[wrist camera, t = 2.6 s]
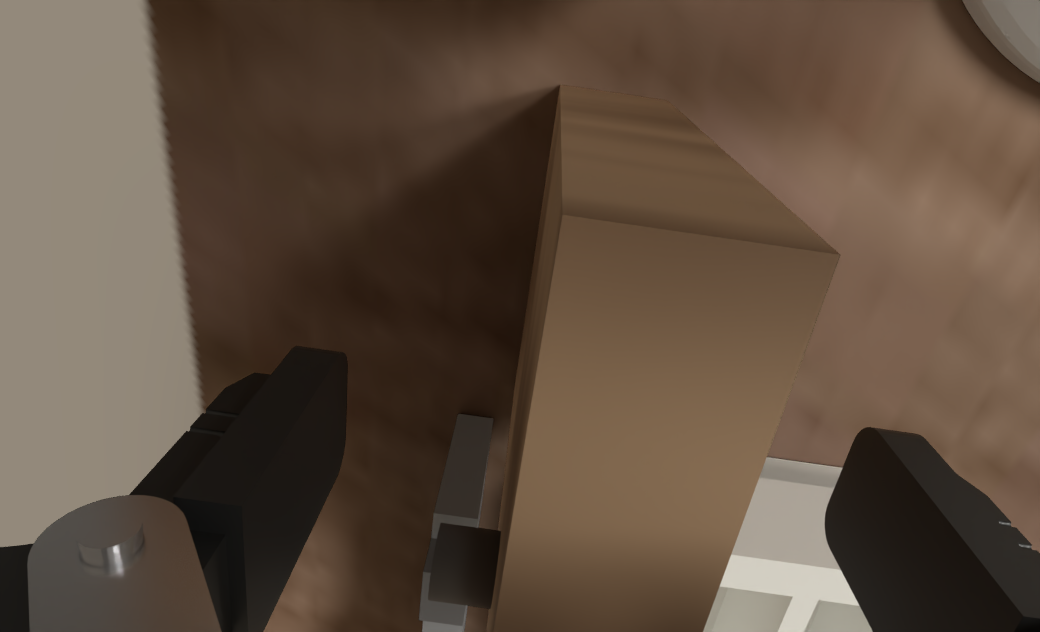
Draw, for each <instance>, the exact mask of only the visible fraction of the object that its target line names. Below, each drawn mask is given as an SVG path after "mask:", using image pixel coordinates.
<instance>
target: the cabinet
mask: <svg viewBox="0 0 1040 632" xmlns="http://www.w3.org/2000/svg"><path fill="white" fill-rule="evenodd" d="M492 426H493V418H486V417H479V416H472V415H465V414H458V416H457V420H456V424H455V428H454V432H453V437H452V441H451V445H450V449H449V453H448V457H447V461H446V465H445V469H444V473H443V477H442V481H441V486H440V490H439V494H438V498H437V502H436V506H435V510H434V516H433V526H432V536H431V541H430V546H429V550H428V554H427V558H426V562H425V567H424V571H423V580H422V590H421V601H420V612H419V620H421V621H423V627H422V632H464V629H465V622H466V615H467V607H468V606H466V605H458V604H451V603H444V602H437V601H430V600H428V591H429V582H430V575H431V568H432V562H433V556H434V550H435V545H436V540H437V535H438V531H439V527H440V524H441V523H447V524H454V525H462V526H469V527H476V528H479V520H480V513H481V506H482V499H483V491H484V484H485V477H486V470H487V463H488V455H489V448H490V441H491V434H492ZM841 471H842V468H841V467H833V466H826V465H819V464H812V463H805V462H798V461H791V460H784V459H777V458H770V457H767V458H766V460H765V463H764V466H763V469H762V471H761V474H760V477H759V480H758V482H757V485H756V488H755V491H754V493H753V496H752V499H751V502H750V504H749V507H748V510H747V513H746V515H745V518H744V521H743V524H742V526H741V529H740V532H739V535H738V537H737V540H736V543H735V545H734V548H733V551H732V554H731V556H730V559H729V562H728V565H727V567H726V570H725V573H724V576H723V578H722V581H721V584H720V587H719V589H718V592H717V595H716V598H715V600H714V603H713V606H712V609H711V611H710V614H709V617H708V619H707V622H706V625H705V628H704V630H703V632H873V631H872V629H871V627H870V625H869V623H868V621H867V619H866V617H865V615H864V613H863V612H862V610H861V608H860V606H859V604H858V602H857V600H856V598H855V596H854V594H853V592H852V590H851V589H850V587H849V585H848V583H847V581H846V579H845V577H844V575H843V573H842V571H841V569H840V567H839V565H838V564H837V562H836V560H835V558H834V556H833V554H832V552H831V550H830V548H829V546H828V543H827V540H826V535H825V513H826V508H827V505H828V502H829V500H830V497H831V495H832V493H833V490H834V488H835V485H836V483H837V480H838V478H839V476H840V473H841Z"/></svg>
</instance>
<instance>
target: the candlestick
mask: <svg viewBox="0 0 1040 632" xmlns="http://www.w3.org/2000/svg"><path fill="white" fill-rule="evenodd" d="M962 1H963V3H964V5H965V7H966V9H967V10H968V12H969V14H970V15H971V17H972V18H973V20H974V21H975V23H976V24H977V25H978V27H979V28H980V30H981V31H982V32H983V34H984V35H985V36H986V37H987V38H988V39H989V41H990V42H991V43H992V44H993V45H994V46H995V47H996V48H997V49H998V50H999V51H1000V53H1001V54H1002V55H1004V56H1005V57H1006V58H1007V59H1008V60H1009V61H1010V62H1011V63H1012V64H1014V65H1015V66H1016V67H1017V68H1019V69H1020V70H1021V71H1022V72H1024V73H1025V74H1027V75H1028V76H1030V77H1031V78H1032V79H1034V80H1036V81H1037V82H1039V83H1040V0H962Z"/></svg>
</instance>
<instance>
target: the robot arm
mask: <svg viewBox="0 0 1040 632" xmlns="http://www.w3.org/2000/svg"><path fill="white" fill-rule="evenodd" d="M347 374H348V364H347V357H346V354H345V353H343V352H336V351H329V350H322V349H315V348H307V347H300V346H295V347H294V348H293V349H292V350H291V351H290V352H289V353H288V354H287V356H286V357H285V358H284V359H283V361H282V362H281V363H280V364H279V366H278V367H277V368H276V369H275V371H274V372H273V373H272V374H271V375H268V374H261V373H253V374H251V375H249V376H247V377H245V378H243V379H242V380H240V381H238V382H236V383H234V384H232V385H230V386H228V387H226V388H225V389H224V390H223V391H222V392H221V393H220V394H219V395H218V397H217V398H216V399H215V400H214V401H213V402H212V403H211V404H210V405H209V407H208V408H207V409H206V413H205V414H204V413H202V414H201V415H200V417H199V418H198V419H197V420H196V421H195V422H194V423H193V425H192V426H191V427H190V431H189V432H188V431H186V432H185V433H184V434H183V436H182V437H181V438H180V439H179V440H178V441H177V442H176V444H174V446H173V447H172V448H171V449H170V450H169V451H168V452H167V453H166V454H165V456H164V457H163V458H162V459H161V460H160V461H159V462H158V463H157V465H156V466H155V467H154V468H153V469H152V470H151V471H150V472H149V473H148V474H147V476H146V477H145V478H144V479H143V480H142V481H141V482H140V484H138V486H137V487H136V488H135V489H134V490H133V491H132V492H131V493H130V495H126V496H117V497H113V498H108V499H103V500H100V501H96V502H93V503H90V504H87V505H85V506H82V507H80V508H78V509H76V510H74V511H72V512H70V513H68V514H66V515H65V516H63V517H61V518H60V519H58V520H57V521H55V522H54V523H53V524H51V525H50V526H49V527H48V528H47V529H46V530H45V531H44V532H43V533H42V534H41V535H40V536H39V537H38V538H37V540H36V541H35V543H34V544H28V545H20V546H10V547H0V632H263V631H264V629H265V627H266V625H267V623H268V621H269V618H270V616H271V614H272V612H273V610H274V608H275V606H276V604H277V602H278V600H279V597H280V595H281V593H282V591H283V589H284V587H285V585H286V583H287V581H288V579H289V577H290V574H291V572H292V570H293V568H294V566H295V564H296V562H297V560H298V558H299V556H300V554H301V551H302V549H303V547H304V545H305V543H306V541H307V539H308V537H309V535H310V533H311V531H312V528H313V526H314V524H315V522H316V520H317V518H318V516H319V514H320V512H321V510H322V507H323V505H324V503H325V501H326V499H327V497H328V495H329V493H330V491H331V489H332V487H333V484H334V482H335V480H336V478H337V476H338V473H339V470H340V467H341V463H342V459H343V454H344V448H345V440H346V410H347ZM825 535H826V540H827V543H828V546H829V548H830V550H831V552H832V554H833V556H834V558H835V560H836V562H837V564H838V565H839V567H840V569H841V571H842V573H843V575H844V577H845V579H846V581H847V583H848V585H849V587H850V589H851V590H852V592H853V594H854V596H855V598H856V600H857V602H858V604H859V606H860V608H861V610H862V612H863V613H864V615H865V617H866V619H867V621H868V623H869V625H870V627H871V629H872V631H873V632H1040V553H1039V552H1038V551H1036V550H1032V549H1031V543H1030V542H1029V541H1028V540H1027V539H1026V538H1025V537H1024V536H1023V535H1022V534H1021V533H1020V531H1019V530H1018V529H1017V528H1015V527H1011V522H1010V520H1009V519H1008V518H1007V517H1006V516H1005V515H1004V514H1003V513H1002V512H1001V511H1000V509H999V508H998V507H997V506H996V505H995V504H994V503H993V502H992V501H991V500H990V498H989V497H988V496H987V495H985V494H984V493H983V492H981V491H980V490H978V489H977V488H976V487H974V486H973V485H971V484H970V483H969V482H967V481H966V480H964V479H963V478H962V477H960V476H959V475H957V474H956V473H955V472H954V471H953V470H952V469H951V467H950V466H949V465H948V464H947V463H946V462H945V461H944V459H943V458H942V457H941V456H940V455H939V454H938V453H937V452H936V450H935V449H934V448H933V447H932V446H931V445H930V444H929V443H928V441H927V440H926V439H925V438H924V437H922V436H921V435H919V434H914V433H907V432H900V431H893V430H886V429H878V428H871V427H867V428H864V429H862V430H861V431H860V432H859V433H858V434H857V436H856V437H855V439H854V441H853V444H852V446H851V449H850V451H849V454H848V456H847V458H846V461H845V463H844V466H843V468H842V471H841V473H840V476H839V478H838V480H837V483H836V485H835V488H834V490H833V493H832V495H831V497H830V500H829V502H828V505H827V508H826V513H825Z"/></svg>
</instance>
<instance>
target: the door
mask: <svg viewBox="0 0 1040 632" xmlns="http://www.w3.org/2000/svg"><path fill="white" fill-rule="evenodd" d="M839 258H840V254H839V253H838V252H837V251H836V250H834V249H833V248H832V247H831V246H830V245H829V244H828V243H827V242H825V241H824V240H823V239H822V238H821V237H820V236H819V235H818V234H817V233H815V232H814V231H813V230H812V229H811V228H810V227H809V226H808V225H806V224H805V223H804V222H803V221H802V220H801V219H800V218H799V217H797V216H796V215H795V214H794V213H793V212H792V211H791V210H790V209H788V208H787V207H786V206H785V205H784V204H783V203H782V202H781V201H780V200H778V199H777V198H776V197H775V196H774V195H773V194H772V193H771V192H769V191H768V190H767V189H766V188H765V187H764V186H763V185H762V184H760V183H759V182H758V181H757V180H756V179H755V178H754V177H753V176H751V175H750V174H749V173H748V172H747V171H746V170H745V169H744V168H743V167H741V166H740V165H739V164H738V163H737V162H736V161H735V160H734V159H732V158H731V157H730V156H729V155H728V154H727V153H726V152H725V151H723V150H722V149H721V148H720V147H719V146H718V145H717V144H716V143H714V142H713V141H712V140H711V139H710V138H709V137H708V136H707V135H706V134H704V133H703V132H702V131H701V130H700V129H699V128H698V127H697V126H695V125H694V124H693V123H692V122H691V121H690V120H689V119H688V118H686V117H685V116H684V115H683V114H682V113H681V112H680V111H679V110H677V109H676V108H675V107H674V106H673V105H672V104H671V103H670V102H669V101H667V100H662V99H655V98H648V97H642V96H635V95H628V94H621V93H614V92H607V91H601V90H594V89H587V88H580V87H573V86H566V85H560V89H559V96H558V102H557V109H556V116H555V122H554V129H553V136H552V142H551V149H550V155H549V162H548V169H547V175H546V182H545V189H544V195H543V202H542V209H541V215H540V222H539V228H538V235H537V242H536V248H535V255H534V262H533V268H532V275H531V281H530V288H529V295H528V301H527V308H526V315H525V321H524V328H523V334H522V341H521V348H520V354H519V361H518V368H517V374H516V381H515V387H514V395H513V404H512V413H511V422H510V430H509V439H508V448H507V456H506V465H505V474H504V482H503V491H502V500H501V508H500V517H499V526H498V531H497V530H490V529H483V528H476V527H469V526H462V525H454V524H447V523H441V524H440V527H439V531H438V535H437V540H436V545H435V550H434V556H433V562H432V568H431V575H430V582H429V591H428V600H430V601H437V602H444V603H451V604H458V605H466V606H473V607H480V608H487V609H489V612H488V621H487V630H486V632H703V630H704V628H705V625H706V622H707V619H708V617H709V614H710V611H711V609H712V606H713V603H714V600H715V598H716V595H717V592H718V589H719V587H720V584H721V581H722V578H723V576H724V573H725V570H726V567H727V565H728V562H729V559H730V556H731V554H732V551H733V548H734V545H735V543H736V540H737V537H738V535H739V532H740V529H741V526H742V524H743V521H744V518H745V515H746V513H747V510H748V507H749V504H750V502H751V499H752V496H753V493H754V491H755V488H756V485H757V482H758V480H759V477H760V474H761V471H762V469H763V466H764V463H765V460H766V458H767V455H768V452H769V450H770V447H771V444H772V441H773V439H774V436H775V433H776V430H777V428H778V425H779V422H780V419H781V417H782V414H783V411H784V408H785V406H786V403H787V400H788V397H789V395H790V392H791V389H792V386H793V384H794V381H795V378H796V375H797V373H798V370H799V367H800V365H801V362H802V359H803V356H804V354H805V351H806V348H807V345H808V343H809V340H810V337H811V334H812V332H813V329H814V326H815V323H816V321H817V318H818V315H819V312H820V310H821V307H822V304H823V301H824V299H825V296H826V293H827V291H828V288H829V285H830V282H831V280H832V277H833V274H834V271H835V269H836V266H837V263H838V260H839Z"/></svg>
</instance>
